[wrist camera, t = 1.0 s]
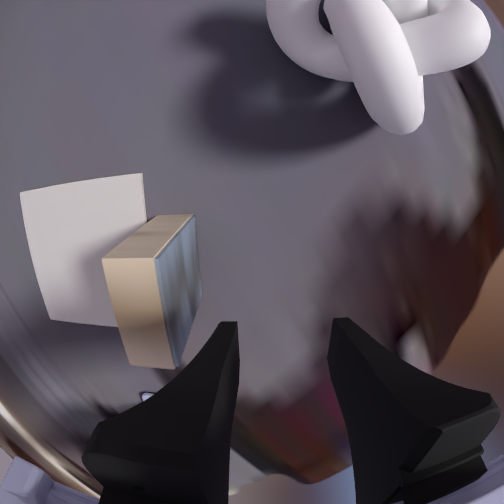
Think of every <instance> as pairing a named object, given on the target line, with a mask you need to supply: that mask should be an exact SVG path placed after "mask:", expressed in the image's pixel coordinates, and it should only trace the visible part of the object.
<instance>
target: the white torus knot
mask: <svg viewBox="0 0 504 504" xmlns="http://www.w3.org/2000/svg"><path fill="white" fill-rule="evenodd" d="M320 2H321V0H266V15H267V20H268V24H269V28H270V30H271V32H272V35H273V37H274V39H275V41H276V42H277V44H278V45H279V47H280V48H281V49H282V51H283V52H284V53H285V54H286V55H287V56H288V57H289V58H290V59H291V60H292V61H294V62H295V63H296V64H298V65H299V66H300V67H302V68H304V69H306V70H307V71H309V72H311V73H314V74H316V75H319V76H323V77H326V78H331V79H335V80H339V81H345V82H354V85H355V87H356V89H357V92H358V94H359V96H360V98H361V100H362V102H363V104H364V106H365V108H366V110H367V112H368V113H369V115H370V116H371V118H372V119H373V120H374V121H375V122H376V123H377V124H379V125H380V126H381V127H382V128H383V129H384V130H385V131H387V132H390V133H394V134H397V135H404V134H408V133H412V132H414V131H415V130H416V129H417V128H418V127H419V125H420V124H421V123H422V122H423V116H424V94H423V75H428V74H434V73H440V72H445V71H449V70H453V69H457V68H460V67H463V66H465V65H467V64H470V63H472V62H473V61H475V60H477V59H478V58H479V57H481V56H482V55H483V54H484V53H485V51H486V49H487V47H488V44H489V41H490V37H491V35H490V27H489V25H488V22H487V20H486V17H485V16H484V14H483V12H482V11H481V10H480V9H479V8H478V7H477V6H476V5H475V4H473V3H472V2H471V1H470V0H324V7H323V9H324V12H325V14H326V16H327V18H328V21H329V24H330V28H331V30H332V33H333V34H330V33H328V32H327V31H326V30H325V29H324V28H323V27H322V25H321V24H320V22H319V15H318V12H319V5H320Z"/></svg>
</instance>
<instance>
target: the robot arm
mask: <svg viewBox="0 0 504 504" xmlns="http://www.w3.org/2000/svg"><path fill="white" fill-rule="evenodd" d="M327 359H328V365H329V371H330V376H331V380H332V383H333V386H334V389H335V393H336V396H337V399H338V402H339V405H340V408H341V411H342V414H343V417H344V420H345V424H346V427H347V432H348V437H349V443H350V448H351V455H352V462H353V469H354V480H355V491H356V504H504V454H503V455H501V456H500V457H498V458H496V459H495V460H493V461H491V462H489V463H487V464H486V465H485V464H484V462H483V460H482V458H481V456H480V455H482V454H483V452H484V450H483V447H482V446H481V443H482V442H483V441H484V440H485V438H486V437H487V436H488V435H489V433H490V432H491V431H492V430H493V428H494V427H495V425H496V424H497V422H498V420H499V418H500V415H501V410H500V408H499V407H498V406H497V404H496V402H495V401H494V400H493V398H492V397H491V395H490V394H489V393H485V392H481V391H476V390H472V389H467V388H464V387H460V386H457V385H454V384H451V383H448V382H446V381H443V380H440V379H438V378H436V377H434V376H431V375H429V374H427V373H425V372H423V371H421V370H419V369H417V368H416V367H414V366H412V365H410V364H409V363H407V362H405V361H404V360H402V359H400V358H399V357H398V356H396V355H395V354H393V353H392V352H390V351H389V350H388V349H386V348H385V347H384V346H382V345H381V344H380V343H378V342H377V341H376V340H375V339H373V338H372V337H371V336H370V335H369V334H367V333H366V332H365V331H364V330H363V329H361V328H360V327H359V326H358V325H357V324H356V323H354V322H353V321H352V320H351V319H349V318H348V317H346V318H333V323H332V331H331V337H330V344H329V350H328V356H327ZM239 368H240V358H239V343H238V326H237V322H220V323H219V324H218V326H217V328H216V329H215V331H214V332H213V334H212V335H211V337H210V338H209V340H208V341H207V342H206V344H205V345H204V346H203V348H202V349H201V350H200V351H199V353H198V354H197V355H196V356H195V357H194V358H193V360H192V361H191V362H190V363H189V364H188V365H187V366H186V367H185V368H184V369H183V370H182V371H181V372H180V373H179V374H178V375H177V376H176V377H175V378H174V379H173V380H172V381H170V382H169V383H168V384H167V385H166V386H164V387H163V388H162V389H160V390H159V391H158V392H156V393H155V394H151V393H143V395H142V399H143V402H141V403H140V404H138V405H136V406H134V407H132V408H131V409H129V410H127V411H125V412H123V413H120V414H118V415H116V416H114V417H111V418H109V419H107V420H104V421H102V422H99V423H98V424H97V426H96V428H95V429H94V431H93V433H92V435H91V437H90V439H89V441H88V443H87V446H86V448H85V450H84V453H83V455H82V457H81V458H82V462H83V464H84V466H85V467H86V469H87V470H88V471H89V472H90V473H91V474H92V475H93V476H94V477H95V478H96V479H97V481H98V482H99V483H100V484H101V485H102V486H103V487H104V488H103V491H102V494H101V497H100V499H98V498H95V497H93V496H90V495H87V494H84V493H82V492H79V491H76V490H74V489H71V488H69V487H67V486H64V485H62V484H60V483H57V482H55V481H53V480H52V478H51V477H50V476H49V475H48V474H47V473H46V472H44V471H43V470H42V469H40V468H38V467H37V466H35V465H33V464H31V463H29V462H27V461H25V460H23V459H22V458H20V457H18V456H15V458H14V460H13V462H12V463H11V465H10V468H9V469H8V471H7V473H6V475H5V477H4V479H3V481H2V483H1V485H0V504H228V492H229V460H230V439H231V429H232V423H233V417H234V411H235V405H236V399H237V392H238V386H239Z"/></svg>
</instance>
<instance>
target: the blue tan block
mask: <svg viewBox="0 0 504 504" xmlns="http://www.w3.org/2000/svg"><path fill="white" fill-rule="evenodd" d="M101 259H102V264H103V269H104V273H105V278H106V282H107V287H108V291H109V295H110V299H111V303H112V307H113V311H114V314H115V318H116V321H117V325H118V328H119V332H120V335H121V338H122V342H123V345H124V348H125V351H126V354H127V357H128V360H129V363H130V365H133V366H142V367H153V368H164V369H175V367H179V364H180V361H181V357H182V354H183V351H184V348H185V345H186V342H187V339H188V336H189V333H190V330H191V326H192V323H193V320H194V317H195V314H196V311H197V308H198V305H199V302H200V299H201V297H202V289H201V279H200V269H199V259H198V248H197V236H196V224H195V216H192V214H180V215H160V216H156V217H154V218H153V219H152V220H150V221H149V222H147V223H146V224H145V225H143V226H142V227H141V228H139V229H138V230H137V231H136V232H134V233H133V234H132V235H130V236H129V237H128V238H126V239H125V240H124V241H123V242H121V243H120V244H119V245H118V246H116V247H115V248H114V249H113V250H111V251H110V252H109V253H108V254H106V255H105V256H104V257H103V258H101Z"/></svg>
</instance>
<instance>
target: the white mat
mask: <svg viewBox="0 0 504 504" xmlns="http://www.w3.org/2000/svg"><path fill="white" fill-rule="evenodd" d="M20 199H21V206H22V212H23V218H24V224H25V229H26V234H27V239H28V244H29V248H30V253H31V257H32V261H33V265H34V269H35V272H36V276H37V280H38V283H39V286H40V290H41V293H42V296H43V299H44V302H45V305H46V308H47V311H48V314H49V317H50V320H58V321H65V322H74V323H82V324H91V325H101V326H112V327H118V325H117V321H116V318H115V314H114V311H113V307H112V303H111V299H110V295H109V291H108V287H107V282H106V278H105V273H104V269H103V264H102V259H101V258H103V257H104V256H105V255H106V254H108V253H109V252H110V251H111V250H113V249H114V248H115V247H116V246H118V245H119V244H120V243H121V242H123V241H124V240H125V239H126V238H128V237H129V236H130V235H132V234H133V233H134V232H136V231H137V230H138V229H139V228H141V227H142V226H143V225H145V224H146V223H147V217H146V208H145V198H144V187H143V175H142V173H136V174H128V175H119V176H112V177H104V178H97V179H90V180H84V181H77V182H71V183H65V184H60V185H54V186H49V187H44V188H39V189H34V190H29V191H24V192H20Z"/></svg>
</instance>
